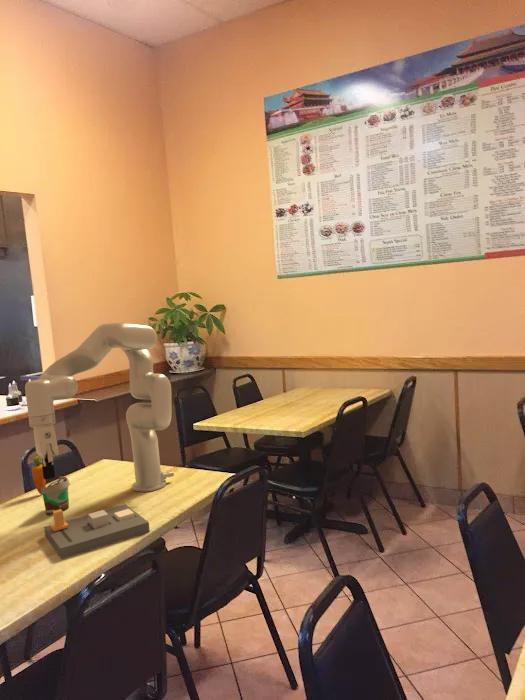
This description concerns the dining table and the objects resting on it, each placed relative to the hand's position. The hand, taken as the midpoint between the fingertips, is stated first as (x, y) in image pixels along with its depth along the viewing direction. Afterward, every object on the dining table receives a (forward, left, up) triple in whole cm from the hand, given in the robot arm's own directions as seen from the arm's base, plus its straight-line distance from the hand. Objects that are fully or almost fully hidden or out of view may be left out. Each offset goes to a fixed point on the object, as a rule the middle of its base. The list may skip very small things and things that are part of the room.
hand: (49, 477), depth 182 cm
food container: (-6, -18, -17) cm, 26 cm away
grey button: (-10, +12, -15) cm, 22 cm away
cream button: (-18, +12, -17) cm, 28 cm away
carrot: (-4, -40, -17) cm, 44 cm away
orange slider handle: (0, +7, -14) cm, 15 cm away
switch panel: (-9, +12, -17) cm, 23 cm away
